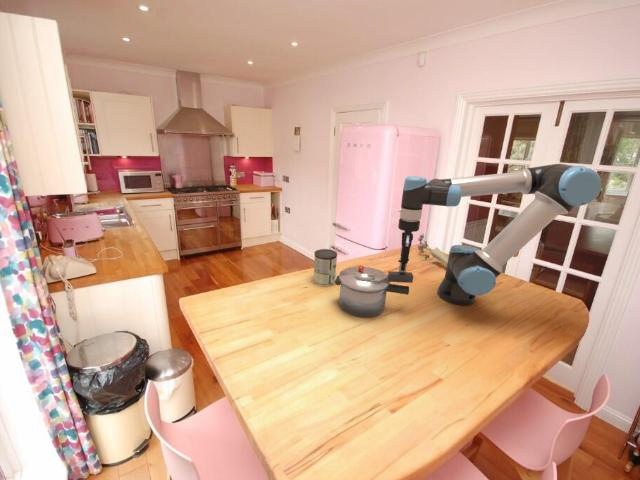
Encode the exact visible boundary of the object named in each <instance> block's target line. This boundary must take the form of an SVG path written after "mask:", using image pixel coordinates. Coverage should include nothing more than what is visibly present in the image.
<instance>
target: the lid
mask: <svg viewBox="0 0 640 480" xmlns="http://www.w3.org/2000/svg"><path fill="white" fill-rule="evenodd" d="M338 276H339V280H340V282H341V283H342V284H343V285H344V286H346V287H347V288H350V289H352V290H355V291H360V292H380V291H383V290H385V289H387V288H388V287H389V285H390V284H391V283H408V284H409V283H410V284H413V283H414V282H413V281H414V277H415V276H414V273H412V271H411V272H410V271H406V272H399V271H388V273H385V272H384V271H382V270H381V269H380V270H379V269H377V268H373V267H370V266H369V267H368V266H363V265H358V266H350V267H347V268H344V269H342V270H341V271H340V272H339V275H338Z"/></svg>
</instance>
